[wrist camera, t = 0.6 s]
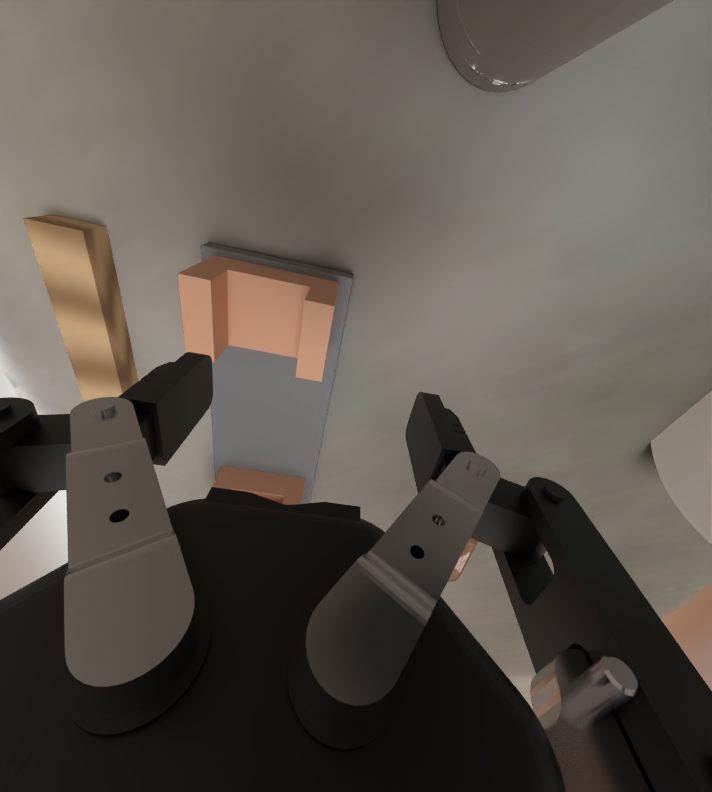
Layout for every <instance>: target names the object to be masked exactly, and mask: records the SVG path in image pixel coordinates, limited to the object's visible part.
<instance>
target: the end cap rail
mask: <svg viewBox="0 0 712 792" xmlns="http://www.w3.org/2000/svg"><path fill="white" fill-rule="evenodd" d="M201 254H202V262H200V263H198V264H196V265H194V266H192V267H190V268H188V269H186V270H184V271H182V272H180V273H178V280H179V289H180V299H181V309H182V318H183V328H184V338H185V347H186V353H187V352H193V353H199V354H205V355H209V356H211V359H212V373H213V398H212V402H211V417H212V433H213V450H214V466H215V483H214V485H213V487H216V488H223V489H231V490H238V491H246V492H251V493H254V494H256V495H259V496H262V497H265V498H267V499H270V500H273V501H276V502H278V503H281V504H285V505H294V504H307V503H309V501H310V496H311V491H312V486H313V481H314V476H315V471H316V466H317V460H318V455H319V450H320V445H321V440H322V435H323V430H324V425H325V419H326V414H327V409H328V404H329V399H330V394H331V389H332V384H333V378H334V373H335V368H336V363H337V358H338V353H339V348H340V343H341V338H342V332H343V327H344V322H345V317H346V312H347V307H348V302H349V297H350V291H351V286H352V281H353V274H350V273H345V272H341V271H336V270H332V269H327V268H323V267H318V266H314V265H309V264H305V263H300V262H295V261H291V260H286V259H282V258H277V257H273V256H268V255H264V254H259V253H254V252H250V251H245V250H241V249H236V248H232V247H227V246H223V245H218V244H214V243H206V244H204V245H201Z"/></svg>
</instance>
